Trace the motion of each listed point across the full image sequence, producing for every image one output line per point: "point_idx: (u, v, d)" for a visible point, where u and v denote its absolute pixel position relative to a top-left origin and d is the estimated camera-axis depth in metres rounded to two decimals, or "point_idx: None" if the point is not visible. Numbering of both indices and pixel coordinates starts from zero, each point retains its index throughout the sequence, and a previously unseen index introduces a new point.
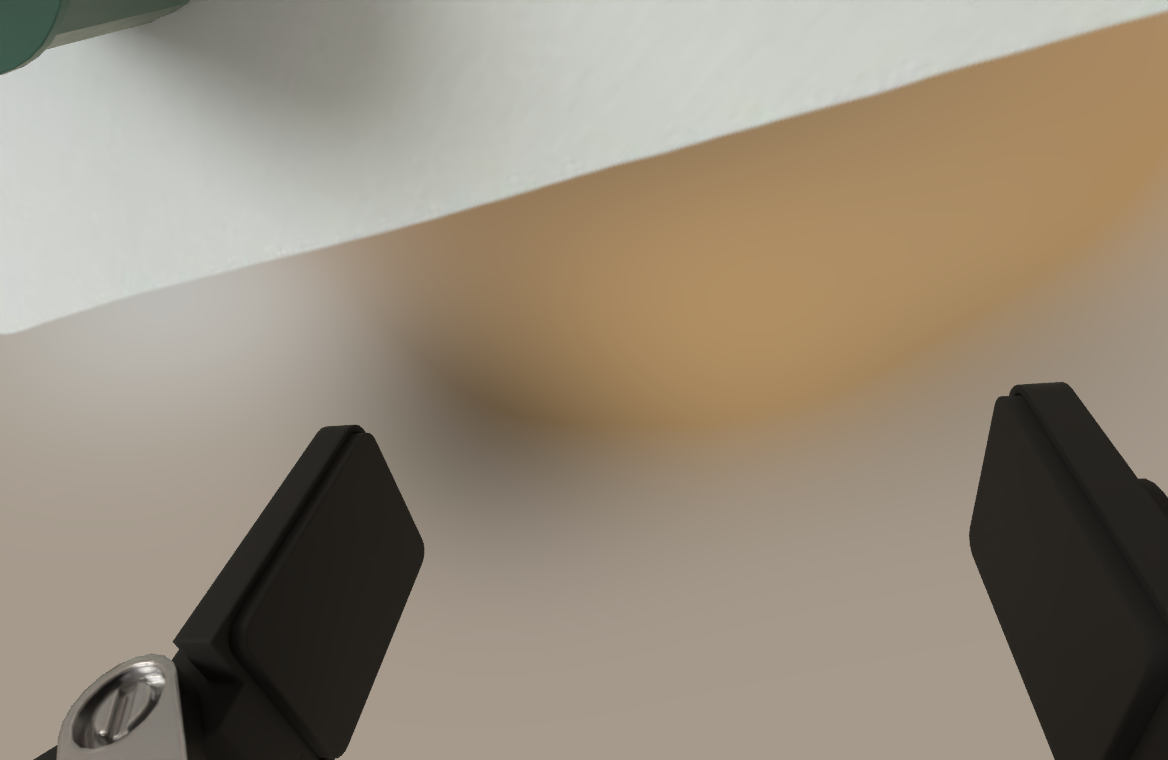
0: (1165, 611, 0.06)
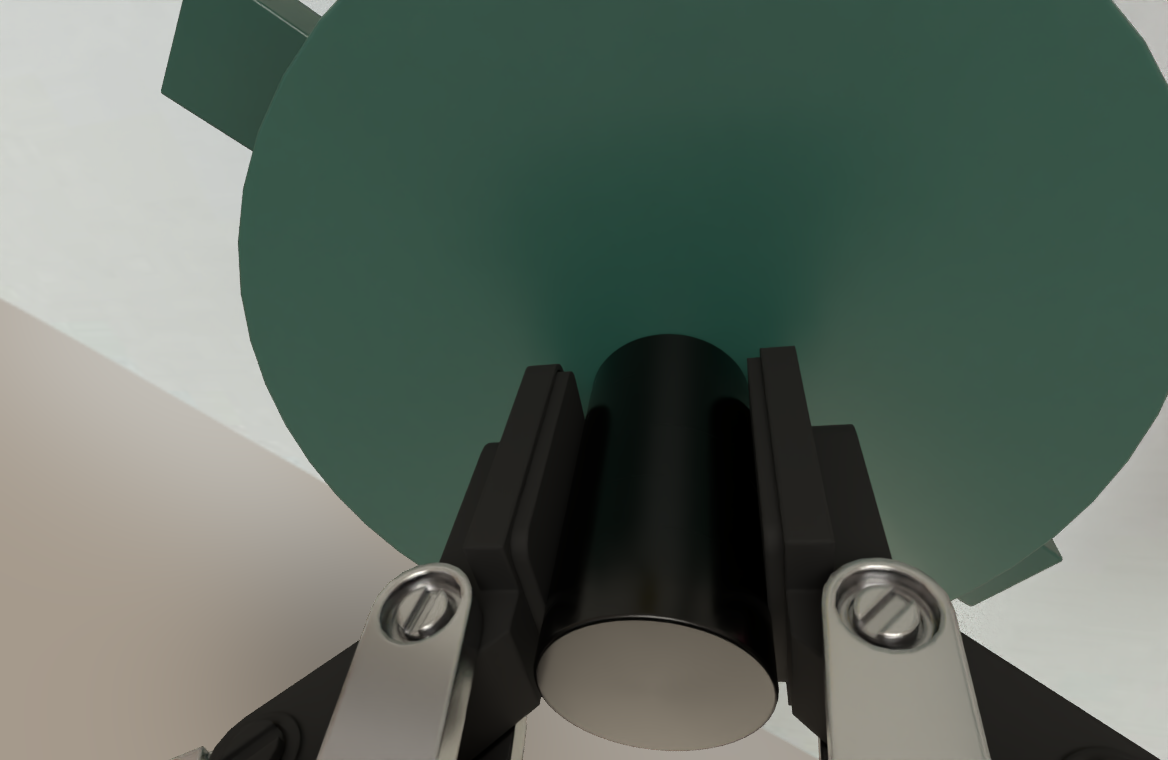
0: None
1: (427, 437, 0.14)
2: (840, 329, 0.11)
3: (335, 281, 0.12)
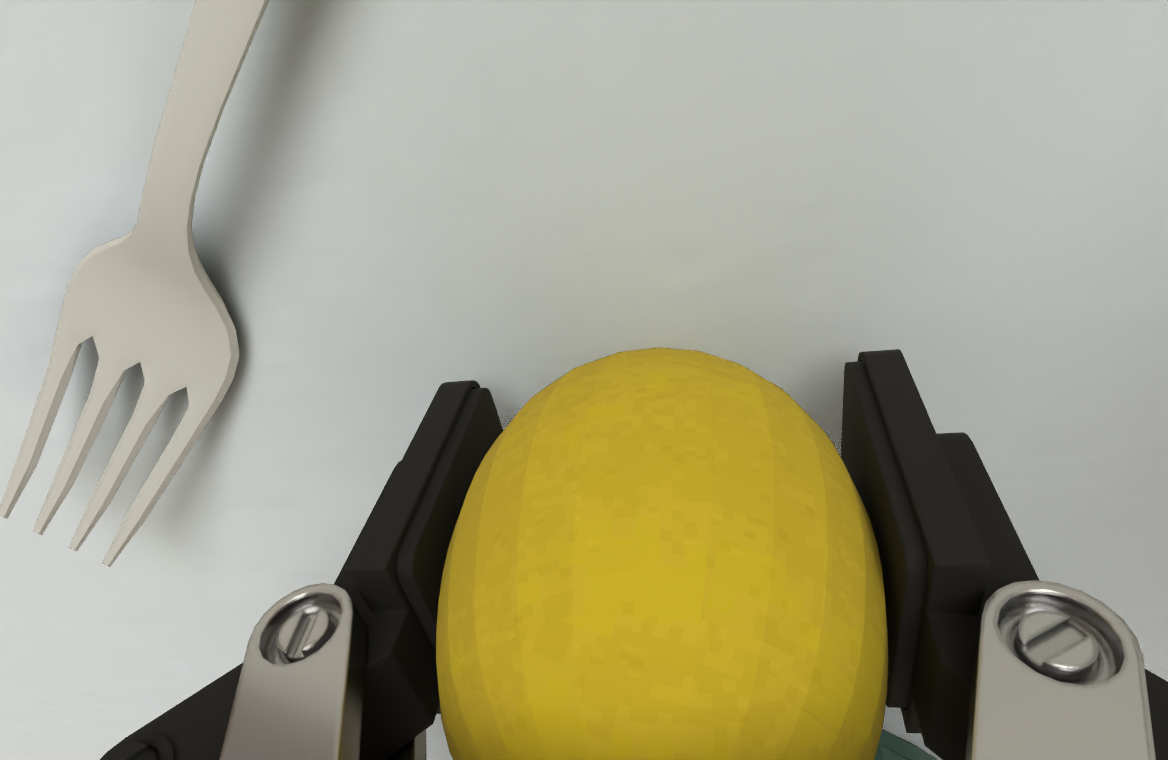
0: (921, 528, 0.07)
1: None
2: None
3: None
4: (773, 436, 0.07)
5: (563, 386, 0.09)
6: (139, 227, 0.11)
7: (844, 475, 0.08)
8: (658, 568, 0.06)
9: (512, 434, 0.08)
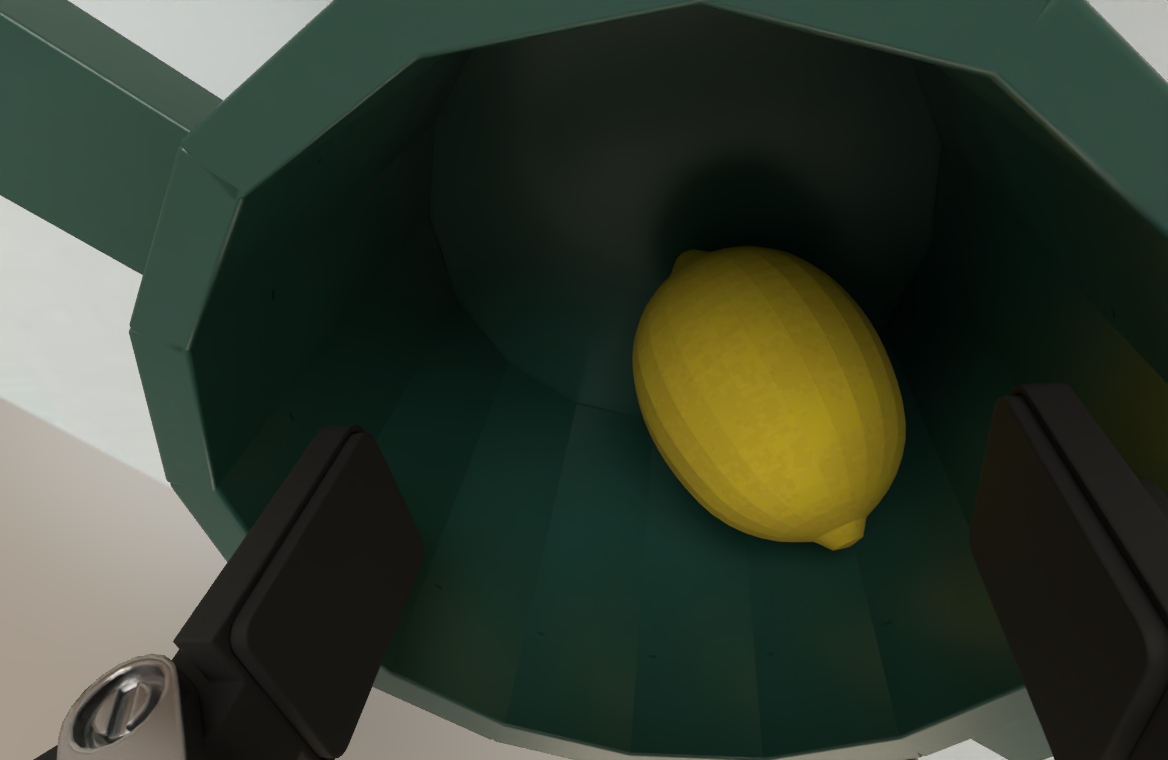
0: (1165, 611, 0.06)
1: None
2: None
3: None
4: (839, 309, 0.14)
5: (706, 316, 0.14)
6: None
7: (857, 305, 0.15)
8: (836, 410, 0.13)
9: (693, 357, 0.14)
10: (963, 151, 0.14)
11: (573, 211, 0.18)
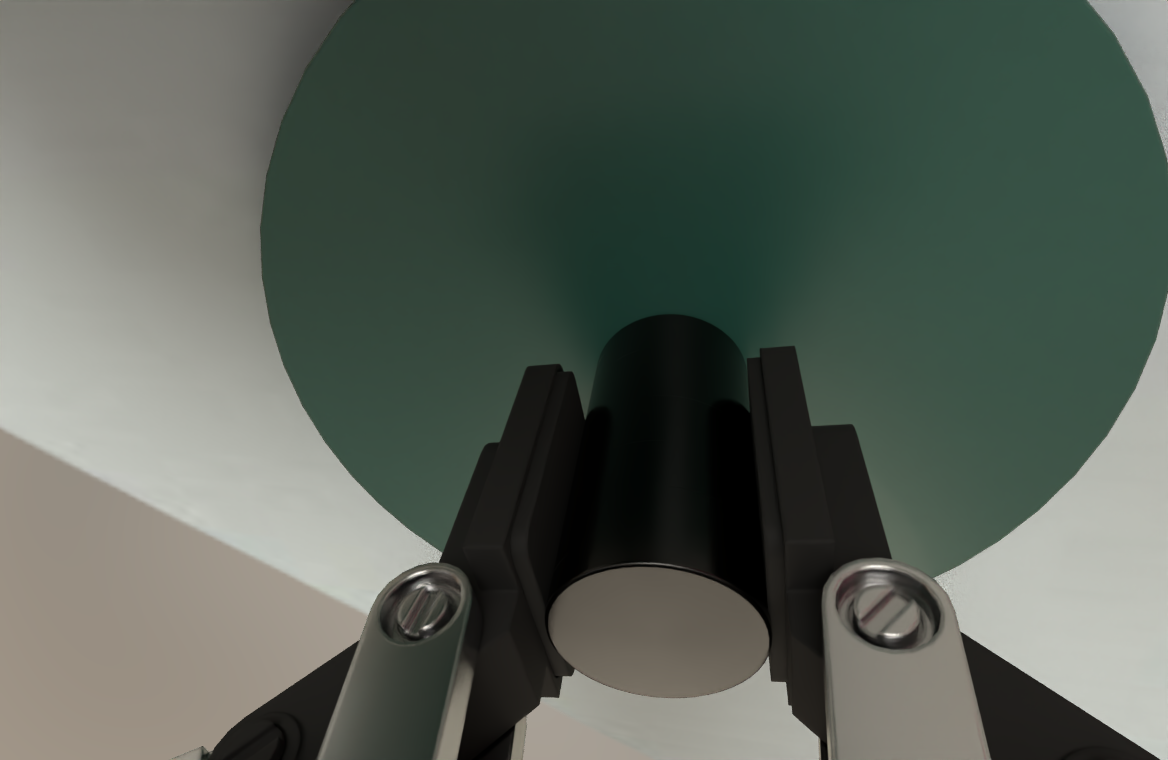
0: None
1: (438, 416, 0.14)
2: (832, 308, 0.11)
3: (352, 265, 0.12)
4: None
5: None
6: None
7: None
8: None
9: None
10: None
11: None
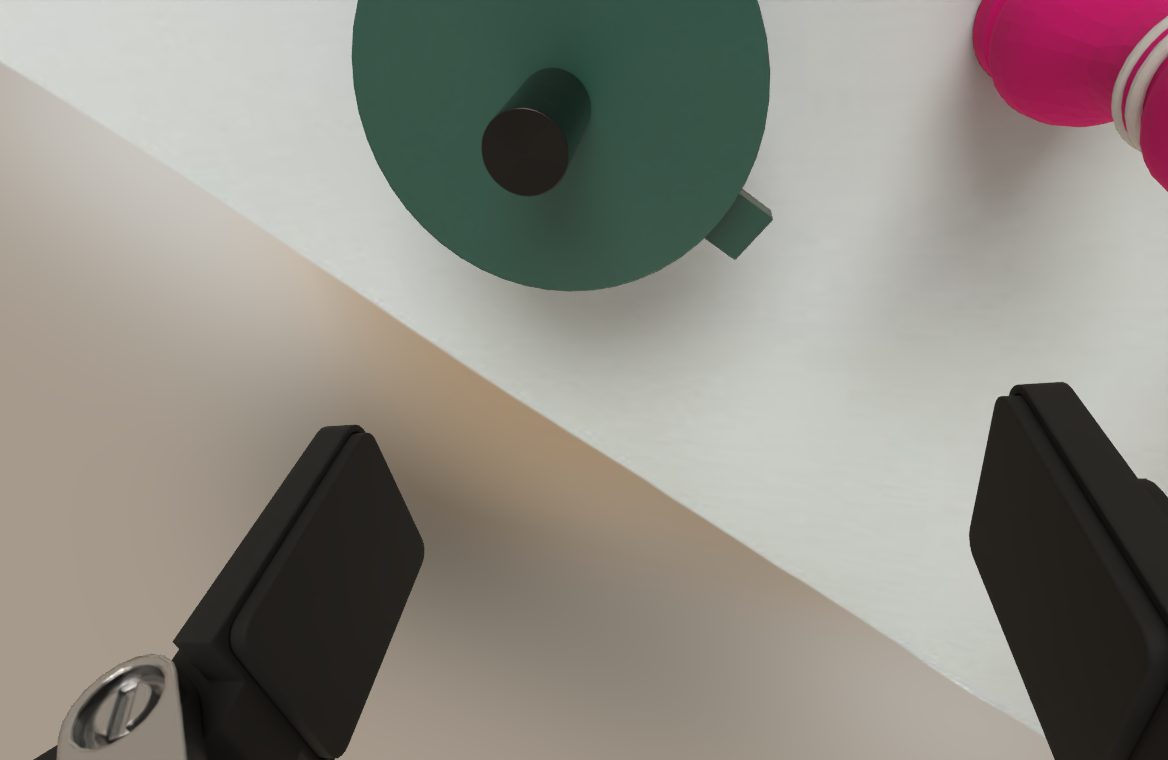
0: (1165, 611, 0.06)
1: (439, 141, 0.27)
2: (624, 60, 0.24)
3: (397, 47, 0.25)
4: None
5: None
6: None
7: None
8: None
9: None
10: None
11: None
